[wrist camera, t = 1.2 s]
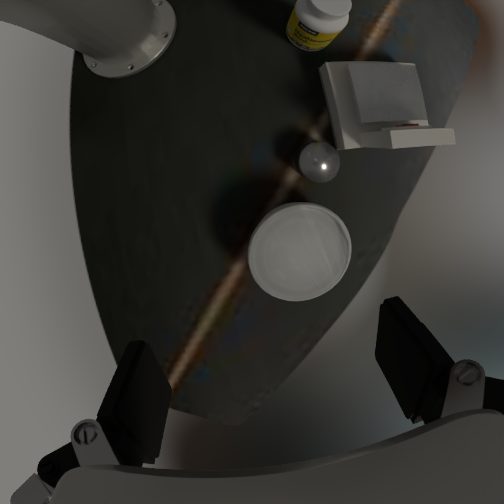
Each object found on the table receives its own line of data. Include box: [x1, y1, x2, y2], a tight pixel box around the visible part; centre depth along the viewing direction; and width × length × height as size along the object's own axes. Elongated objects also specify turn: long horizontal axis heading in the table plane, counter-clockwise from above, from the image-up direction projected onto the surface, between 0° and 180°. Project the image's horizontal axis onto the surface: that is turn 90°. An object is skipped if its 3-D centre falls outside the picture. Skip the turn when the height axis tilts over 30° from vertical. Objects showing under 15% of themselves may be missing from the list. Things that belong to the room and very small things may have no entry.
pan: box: [345, 63, 427, 124], centre depth 24 cm, size 7×9×2 cm
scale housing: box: [318, 61, 456, 150], centre depth 23 cm, size 10×12×10 cm
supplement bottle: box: [286, 0, 352, 51], centre depth 20 cm, size 5×5×10 cm
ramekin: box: [248, 202, 351, 301], centre depth 31 cm, size 11×11×5 cm
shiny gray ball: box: [295, 142, 340, 183], centre depth 29 cm, size 4×4×3 cm
